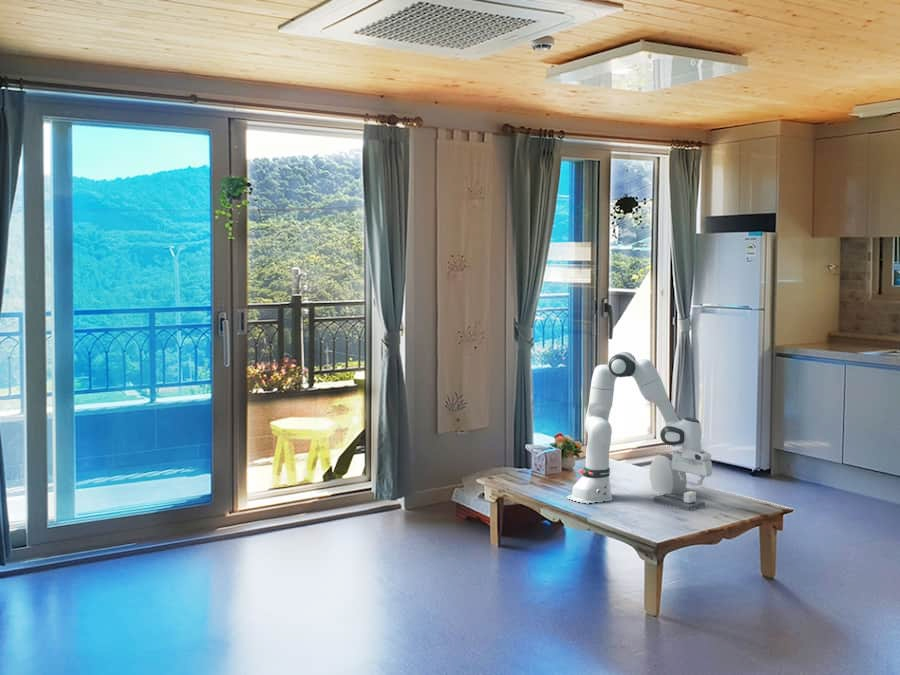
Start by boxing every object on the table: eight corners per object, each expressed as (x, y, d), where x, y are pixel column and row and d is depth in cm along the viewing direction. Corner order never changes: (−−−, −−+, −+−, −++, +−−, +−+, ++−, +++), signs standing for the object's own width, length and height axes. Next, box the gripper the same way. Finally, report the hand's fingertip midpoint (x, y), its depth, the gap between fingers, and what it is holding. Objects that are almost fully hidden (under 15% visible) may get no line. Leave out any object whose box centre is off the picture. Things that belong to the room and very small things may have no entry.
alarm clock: (686, 498, 415) (687, 458, 414) (672, 500, 413) (673, 459, 411) (662, 487, 436) (663, 448, 434) (649, 489, 433) (649, 449, 432)
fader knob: (688, 505, 398) (689, 494, 398) (683, 503, 401) (683, 492, 400) (695, 503, 401) (695, 492, 401) (690, 502, 404) (690, 491, 403)
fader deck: (688, 510, 394) (688, 506, 394) (653, 501, 410) (653, 496, 410) (704, 506, 402) (704, 501, 402) (669, 496, 417) (669, 492, 417)
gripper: (668, 450, 405) (668, 479, 406) (705, 457, 389) (705, 488, 390) (676, 448, 409) (676, 477, 410) (714, 455, 393) (714, 485, 394)
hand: (691, 482), depth 400 cm, fingers open, 8 cm apart
